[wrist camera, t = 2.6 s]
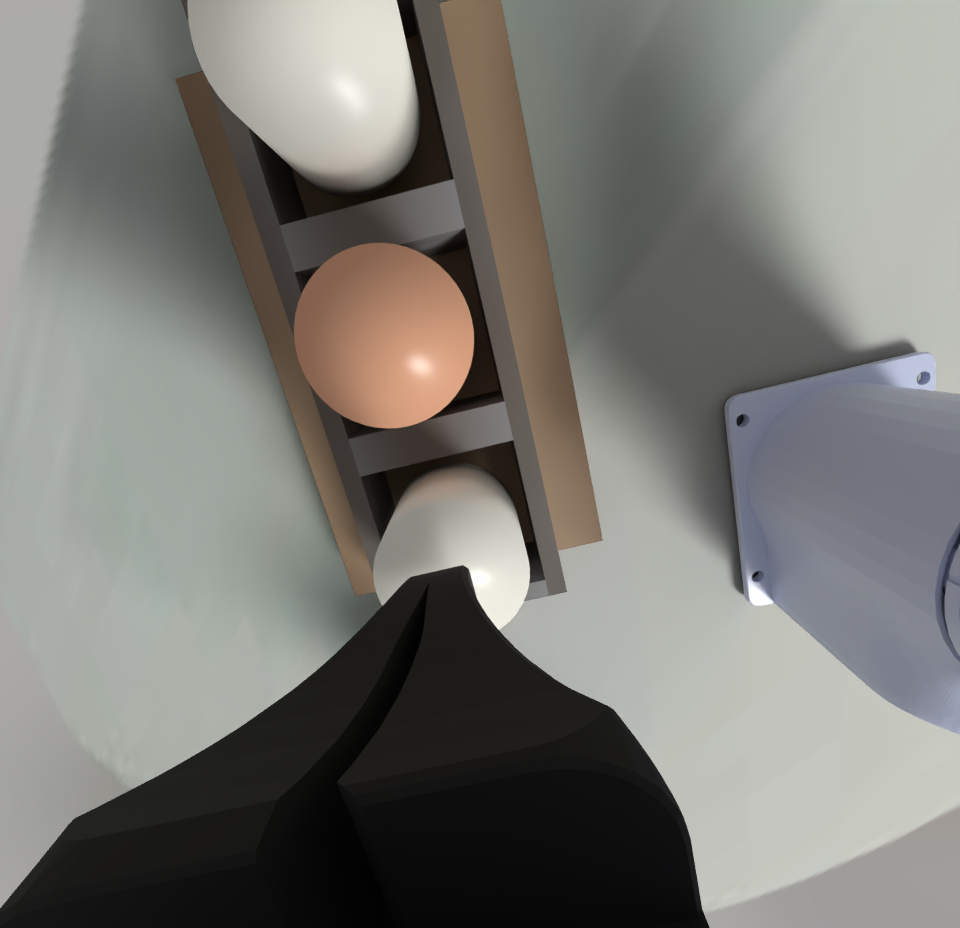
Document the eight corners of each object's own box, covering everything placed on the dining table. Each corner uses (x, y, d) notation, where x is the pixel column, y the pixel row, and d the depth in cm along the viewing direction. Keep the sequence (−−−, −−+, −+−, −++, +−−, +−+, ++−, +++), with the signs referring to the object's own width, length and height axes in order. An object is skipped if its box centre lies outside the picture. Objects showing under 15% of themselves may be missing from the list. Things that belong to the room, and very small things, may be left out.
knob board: (495, 29, 16) (505, -106, 11) (590, 521, 20) (626, 578, 16) (210, 109, 16) (99, 13, 11) (366, 572, 21) (334, 643, 16)
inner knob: (528, 560, 16) (544, 626, 13) (414, 585, 16) (397, 657, 13) (501, 449, 15) (510, 485, 12) (381, 478, 15) (352, 522, 12)
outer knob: (437, 176, 13) (423, 113, 9) (299, 213, 13) (233, 166, 10) (396, 4, 12) (364, -139, 8) (248, 47, 12) (152, -75, 9)
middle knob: (487, 388, 15) (492, 406, 11) (363, 418, 15) (327, 446, 11) (455, 252, 14) (448, 221, 10) (322, 286, 14) (268, 268, 10)
